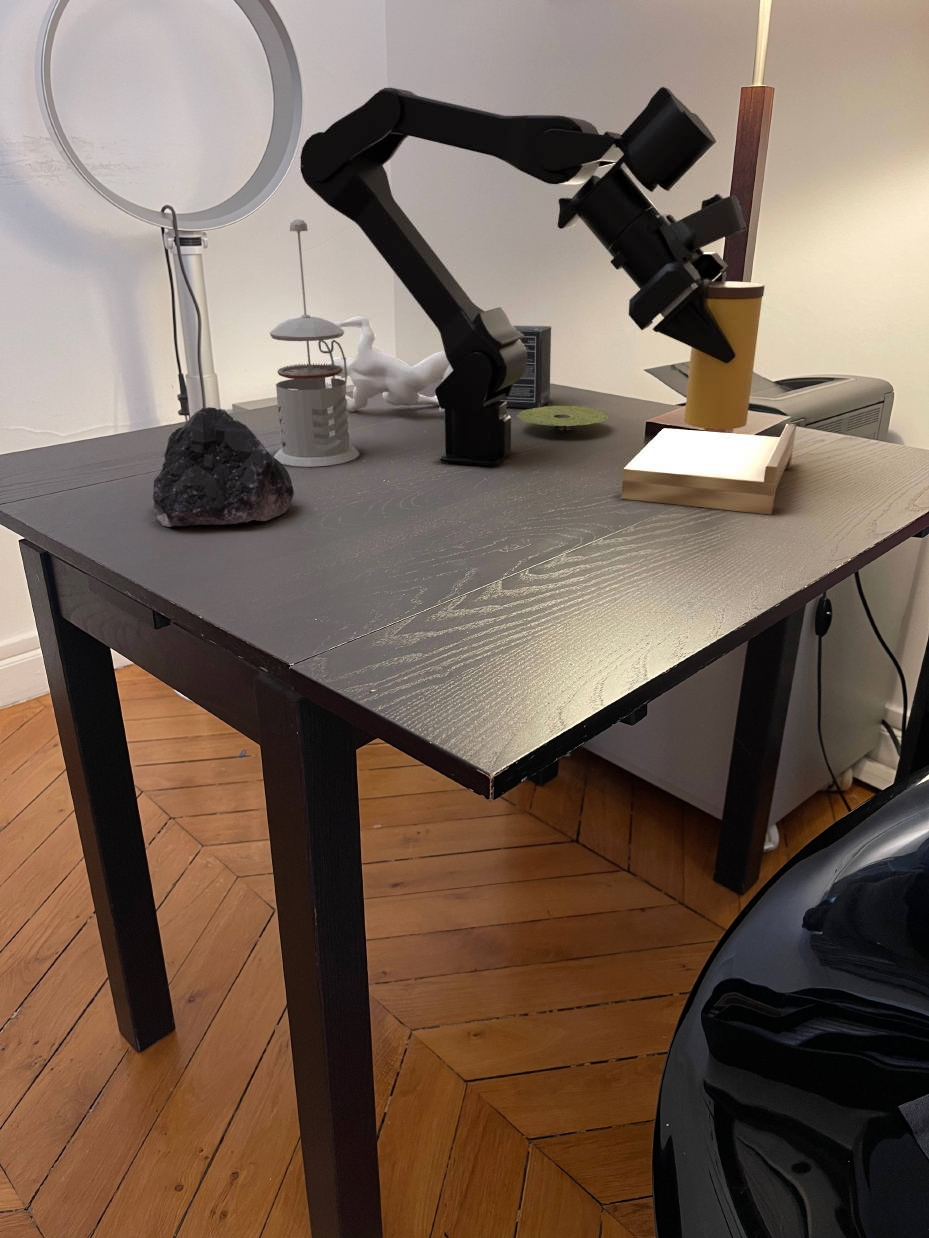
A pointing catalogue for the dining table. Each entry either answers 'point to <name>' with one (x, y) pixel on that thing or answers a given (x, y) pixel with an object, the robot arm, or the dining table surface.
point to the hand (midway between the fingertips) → (736, 355)
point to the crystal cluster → (219, 475)
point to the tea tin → (713, 383)
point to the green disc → (562, 416)
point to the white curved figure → (388, 372)
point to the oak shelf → (710, 470)
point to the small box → (533, 369)
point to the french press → (312, 394)
